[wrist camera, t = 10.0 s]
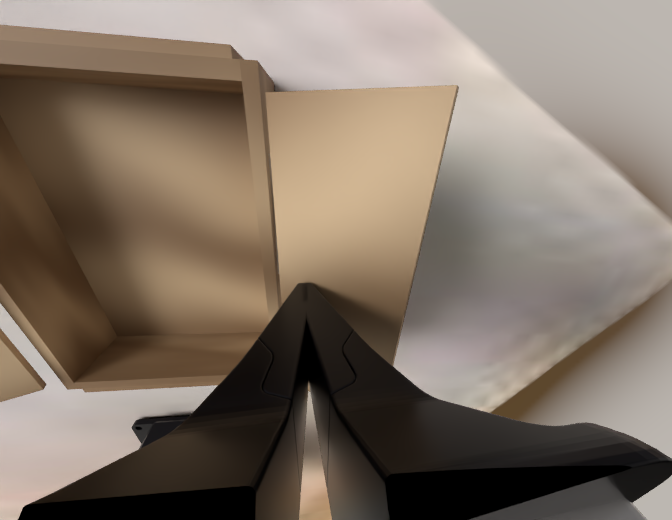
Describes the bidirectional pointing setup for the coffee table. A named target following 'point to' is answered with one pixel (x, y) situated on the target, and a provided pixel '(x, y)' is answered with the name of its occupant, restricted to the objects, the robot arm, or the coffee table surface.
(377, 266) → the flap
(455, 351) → the coffee table surface
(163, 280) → the carton
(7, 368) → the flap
